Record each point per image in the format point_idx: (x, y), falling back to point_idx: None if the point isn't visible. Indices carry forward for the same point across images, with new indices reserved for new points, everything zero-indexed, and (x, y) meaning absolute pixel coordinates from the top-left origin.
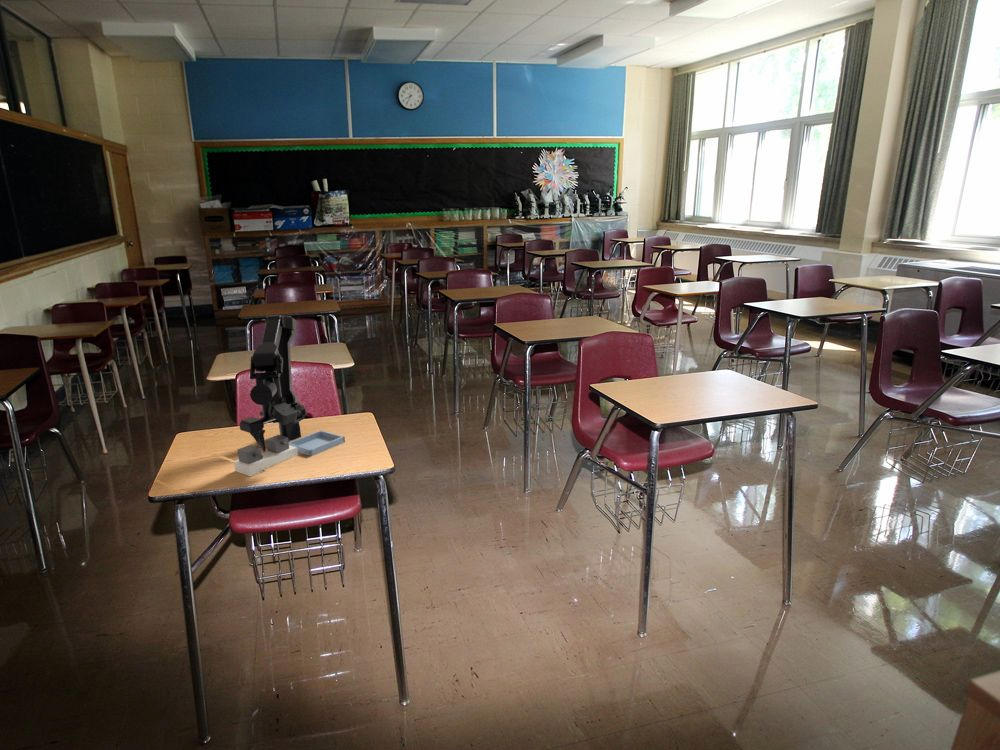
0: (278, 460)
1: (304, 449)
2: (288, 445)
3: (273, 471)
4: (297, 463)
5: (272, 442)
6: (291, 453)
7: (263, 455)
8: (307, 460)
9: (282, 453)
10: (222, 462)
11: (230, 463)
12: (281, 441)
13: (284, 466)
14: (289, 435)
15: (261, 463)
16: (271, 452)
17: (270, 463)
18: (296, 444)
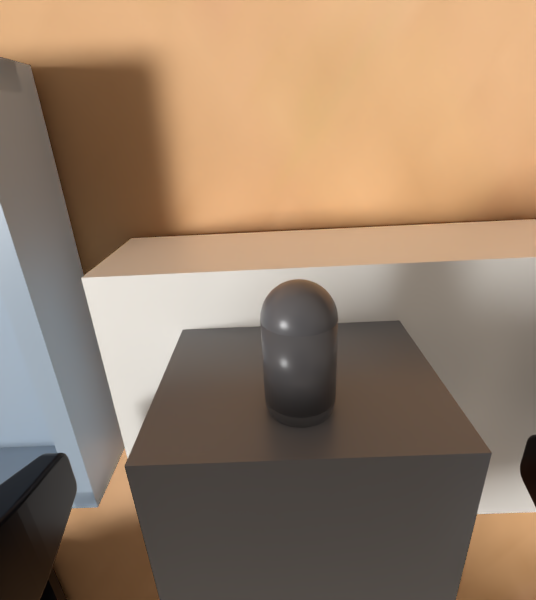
0: (400, 239)
1: (11, 202)
2: (180, 356)
3: (532, 127)
4: (230, 88)
5: (464, 501)
6: (200, 255)
7: (519, 398)
8: (97, 60)
9: (345, 264)
10: (526, 593)
11: (520, 552)
12: (311, 429)
13: (371, 148)
14: (27, 552)
15: None
16: None
17: (518, 234)
18: (15, 459)
